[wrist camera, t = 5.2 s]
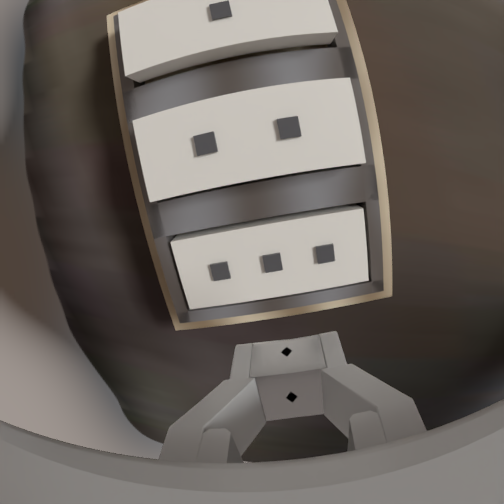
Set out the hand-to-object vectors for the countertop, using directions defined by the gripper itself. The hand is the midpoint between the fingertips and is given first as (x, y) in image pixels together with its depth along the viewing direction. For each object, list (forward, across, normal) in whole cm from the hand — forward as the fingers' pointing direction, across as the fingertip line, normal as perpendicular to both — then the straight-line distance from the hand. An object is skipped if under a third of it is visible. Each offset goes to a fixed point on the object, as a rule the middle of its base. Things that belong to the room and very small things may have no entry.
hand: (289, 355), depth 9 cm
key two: (+9, +1, -7) cm, 12 cm away
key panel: (+14, +1, -7) cm, 15 cm away
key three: (+11, +1, 0) cm, 11 cm away
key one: (+9, +1, -14) cm, 17 cm away
